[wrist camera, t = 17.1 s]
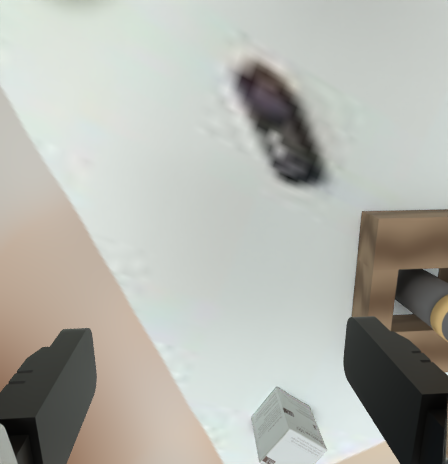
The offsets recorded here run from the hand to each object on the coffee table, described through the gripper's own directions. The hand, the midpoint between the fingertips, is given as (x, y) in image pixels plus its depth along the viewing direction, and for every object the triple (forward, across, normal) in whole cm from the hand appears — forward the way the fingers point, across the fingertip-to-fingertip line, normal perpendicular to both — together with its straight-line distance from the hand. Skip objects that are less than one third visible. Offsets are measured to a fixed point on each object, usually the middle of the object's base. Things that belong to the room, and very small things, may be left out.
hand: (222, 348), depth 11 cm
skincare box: (+30, -10, +30) cm, 44 cm away
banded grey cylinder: (+30, -26, +11) cm, 41 cm away
